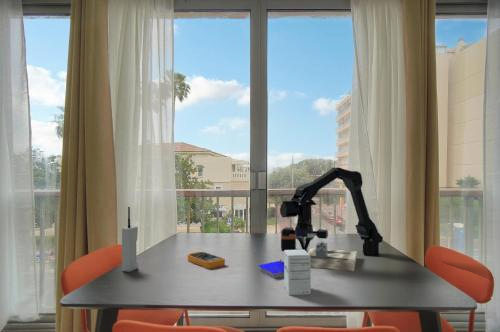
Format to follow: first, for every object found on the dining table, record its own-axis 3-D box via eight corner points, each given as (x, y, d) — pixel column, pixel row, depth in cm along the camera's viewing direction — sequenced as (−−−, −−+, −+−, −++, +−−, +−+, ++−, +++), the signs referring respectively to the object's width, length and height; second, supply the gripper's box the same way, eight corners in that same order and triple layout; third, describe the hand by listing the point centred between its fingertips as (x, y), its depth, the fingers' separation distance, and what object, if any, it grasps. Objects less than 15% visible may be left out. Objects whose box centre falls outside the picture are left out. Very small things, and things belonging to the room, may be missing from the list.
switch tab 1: (327, 250, 154) (327, 241, 154) (325, 252, 149) (325, 243, 149) (318, 249, 155) (318, 240, 155) (316, 251, 150) (316, 243, 150)
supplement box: (283, 287, 115) (283, 249, 115) (305, 286, 116) (305, 249, 116) (288, 295, 108) (287, 255, 108) (311, 294, 109) (311, 254, 109)
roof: (273, 280, 124) (273, 265, 124) (257, 271, 134) (257, 257, 134) (300, 275, 129) (300, 260, 129) (283, 267, 140) (283, 253, 140)
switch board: (356, 258, 152) (356, 251, 152) (353, 271, 133) (353, 263, 133) (311, 254, 158) (311, 247, 158) (302, 266, 140) (302, 258, 140)
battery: (295, 251, 165) (295, 230, 165) (281, 251, 165) (281, 230, 165) (294, 248, 170) (294, 228, 170) (280, 249, 169) (280, 228, 169)
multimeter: (202, 257, 155) (202, 250, 155) (226, 266, 141) (226, 258, 141) (185, 261, 149) (185, 253, 149) (208, 270, 136) (208, 261, 136)
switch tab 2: (327, 255, 144) (327, 246, 144) (325, 258, 139) (325, 249, 139) (317, 254, 145) (317, 245, 145) (315, 257, 140) (315, 248, 140)
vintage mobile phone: (138, 268, 138) (137, 205, 138) (129, 272, 133) (129, 207, 133) (130, 267, 139) (130, 205, 139) (121, 271, 134) (121, 207, 134)
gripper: (277, 217, 140) (278, 256, 140) (324, 219, 134) (324, 260, 134) (284, 214, 151) (285, 250, 151) (328, 216, 144) (328, 253, 144)
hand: (304, 253), depth 144 cm, fingers closed
